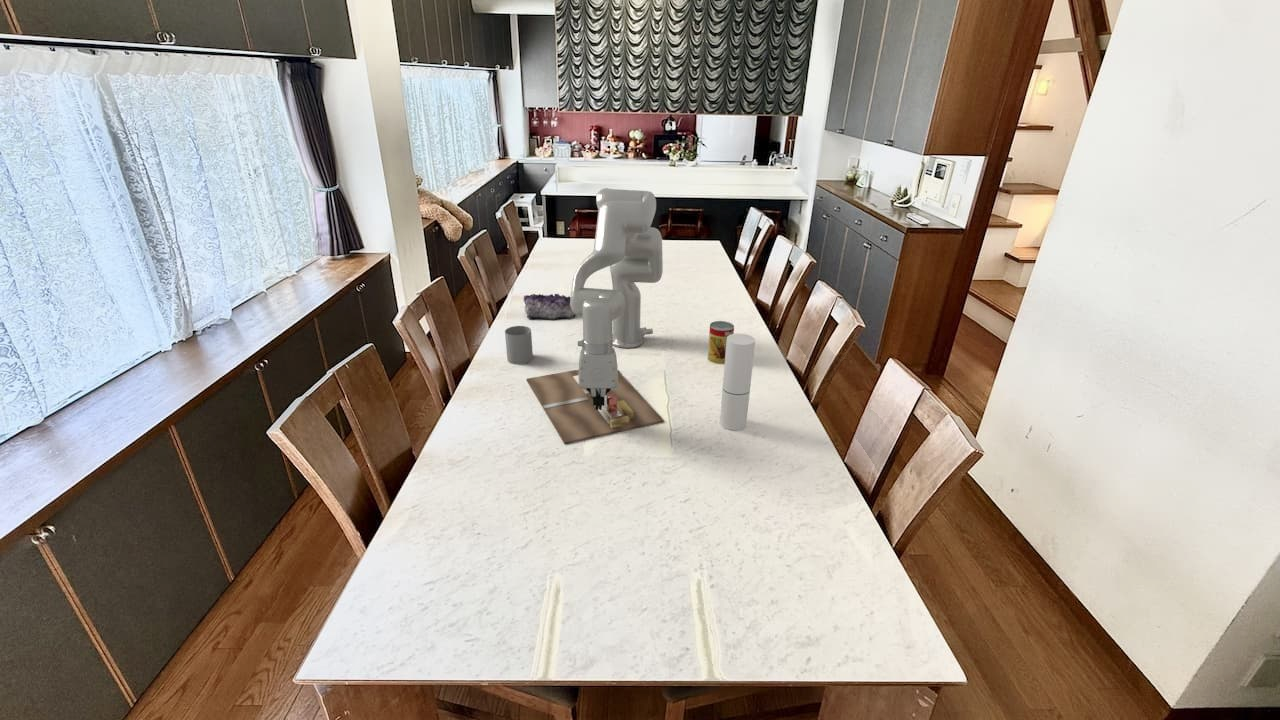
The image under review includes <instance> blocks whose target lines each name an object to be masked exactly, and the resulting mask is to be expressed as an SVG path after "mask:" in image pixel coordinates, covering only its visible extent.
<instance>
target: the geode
mask: <svg viewBox="0 0 1280 720" xmlns="http://www.w3.org/2000/svg"><path fill="white" fill-rule="evenodd" d="M570 297H571V296H570V295H568V296H566V295H564V294H562V295H560V293H554V294H553V293H551V294H550V295H549V294H548V295H544V294H540V293H539V294H536V293H532V294H530V295H524V296H523V302H524V304H525V305H524V312H525V313H526V318H528V319H533V318H534V319H535V318H536V319H537V318H540V319H542V320H544V319H546V320H552V321H555V320H558V319H562V318H565V319H568V320H571V319H573V318H575V317H576V315H575V314H574V313H573V312H572V310H571V307H570Z"/></svg>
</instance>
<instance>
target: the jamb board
mask: <svg viewBox="0 0 1280 720" xmlns="http://www.w3.org/2000/svg"><path fill="white" fill-rule="evenodd" d="M526 382H527V384H528V385H529V387H530V389H531V390H532V392H533V394H534V396H535V397H536V398H537V401H538V402H539V403H540V405H541V407H542V409H543V411H544V412H545V413H546V416H547V417H548V419H549V420H550V422H551V423H552V425H553V427H554V428H555V431H556V432H557V434H558V436H559V437H560V438H561V441H562V442H563V444H564V445H568V444H571V443H575V442H576V443H577V442H580V441H584V440H590V439H594V438H599V437H603V436H607V435H611V434H616V433H621V432H625V431H630V430H635V429H637V428H644V427H648V426H652V425H655V424H660V423H664V419H663V418H662V416H661V415H660V414H659V413H658V412H657V411H656V410H655V409H654V408H653V407H652V406H651V405H650V404H649V402H648V401H647V400H646V399H645V398H644V397H643V396H642V395H641V393H639V392H638V390H637V389H636V388H635V387H634V386H633V384H631V382H629V381H628V379H627V378H626V377H625V376H623V374H622V373H621V372H620V371H619V370H618V384H619V388H618V389H615V390H610V391H609V392H608V393H607V394H606V396H608V395H610V394H613V395H616V396H617V409H618V410H619V412H620V413H621V414H622V415H623V417H619V418H615V419H610V417H609V416H608V415H607V413H606V412H605V411H604V410H603V408H602V410H600V409H599V408H598V410H596V406H593V398H591V395H590V393H589V392H588V391H587V390H584V389H580V388H578V386H579V368H578V369H573V370H568V371H563V372H557V373H551V374H545V375H539V376H534V377H529V378H526Z"/></svg>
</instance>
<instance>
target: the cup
mask: <svg viewBox="0 0 1280 720" xmlns="http://www.w3.org/2000/svg"><path fill="white" fill-rule="evenodd" d="M504 335H505V336H504V337H505V339H504V340H505V347H506V348H505V350H506V359H507V363H510V364H512V365H525V364H528V363H530V362H532V361H533V360H534V355H533V353H534V352H533V340H532V339H533V336H532V329H531V327H528V326H526V325H514V326H510V327H506V329H505V330H504Z"/></svg>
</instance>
